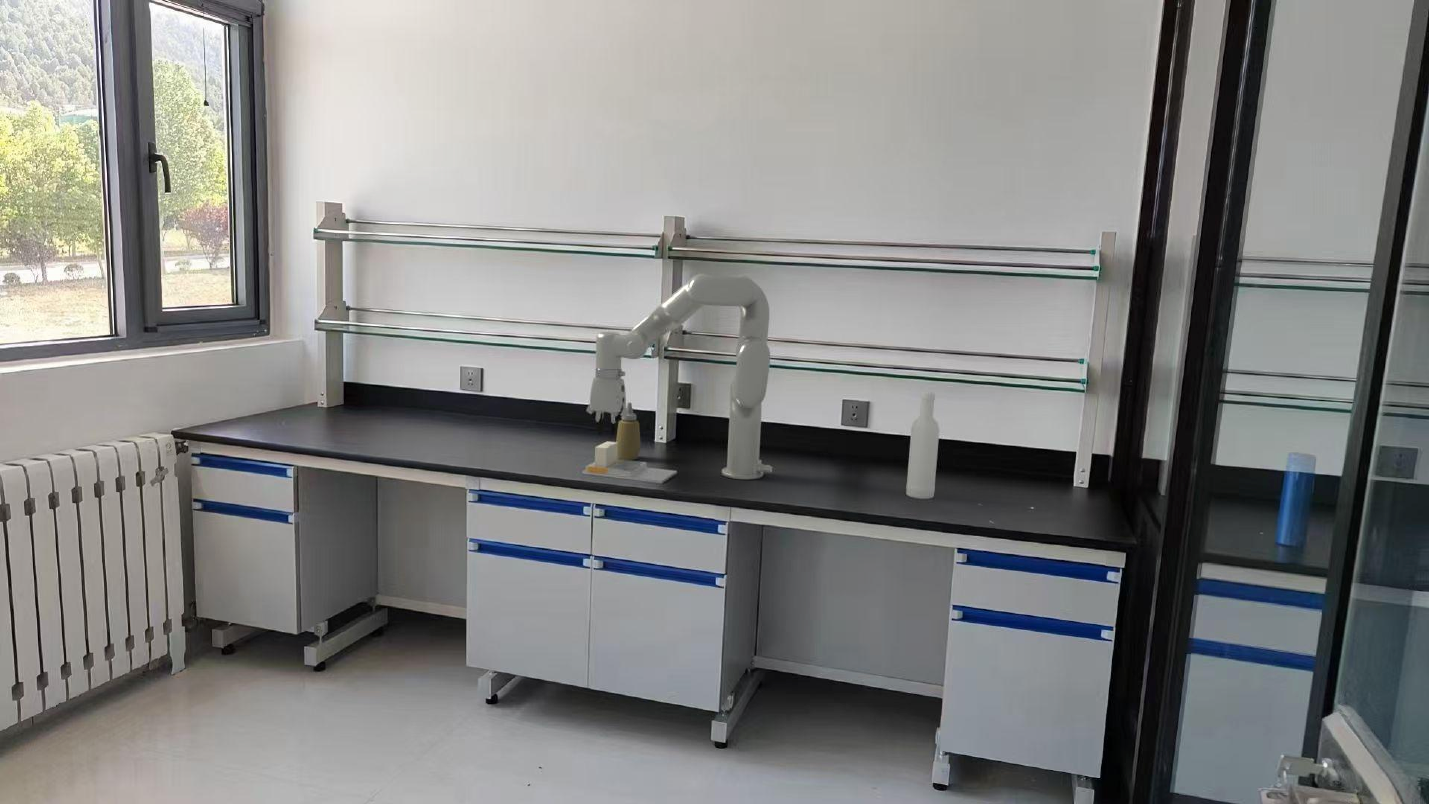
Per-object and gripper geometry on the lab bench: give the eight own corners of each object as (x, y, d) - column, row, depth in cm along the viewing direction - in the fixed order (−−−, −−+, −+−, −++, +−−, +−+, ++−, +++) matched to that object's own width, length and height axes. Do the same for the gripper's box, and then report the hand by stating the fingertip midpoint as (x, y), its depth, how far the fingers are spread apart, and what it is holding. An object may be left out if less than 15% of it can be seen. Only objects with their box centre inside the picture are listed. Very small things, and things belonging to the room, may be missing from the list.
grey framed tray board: (676, 473, 288) (676, 465, 288) (661, 483, 276) (662, 475, 275) (600, 464, 295) (600, 456, 295) (582, 473, 283) (582, 465, 282)
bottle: (916, 500, 270) (924, 395, 265) (900, 492, 277) (908, 390, 272) (939, 498, 273) (948, 394, 268) (923, 491, 280) (931, 390, 275)
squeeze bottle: (636, 462, 300) (638, 405, 297) (611, 460, 301) (613, 403, 298) (643, 456, 308) (645, 401, 305) (619, 454, 309) (620, 399, 306)
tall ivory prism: (617, 465, 291) (617, 442, 290) (605, 471, 283) (606, 448, 281) (606, 463, 292) (607, 441, 291) (594, 470, 284) (595, 447, 282)
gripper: (638, 374, 284) (636, 435, 287) (588, 370, 288) (586, 430, 291) (629, 378, 277) (627, 440, 280) (577, 373, 281) (576, 434, 284)
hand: (606, 434), depth 286 cm, fingers open, 3 cm apart
